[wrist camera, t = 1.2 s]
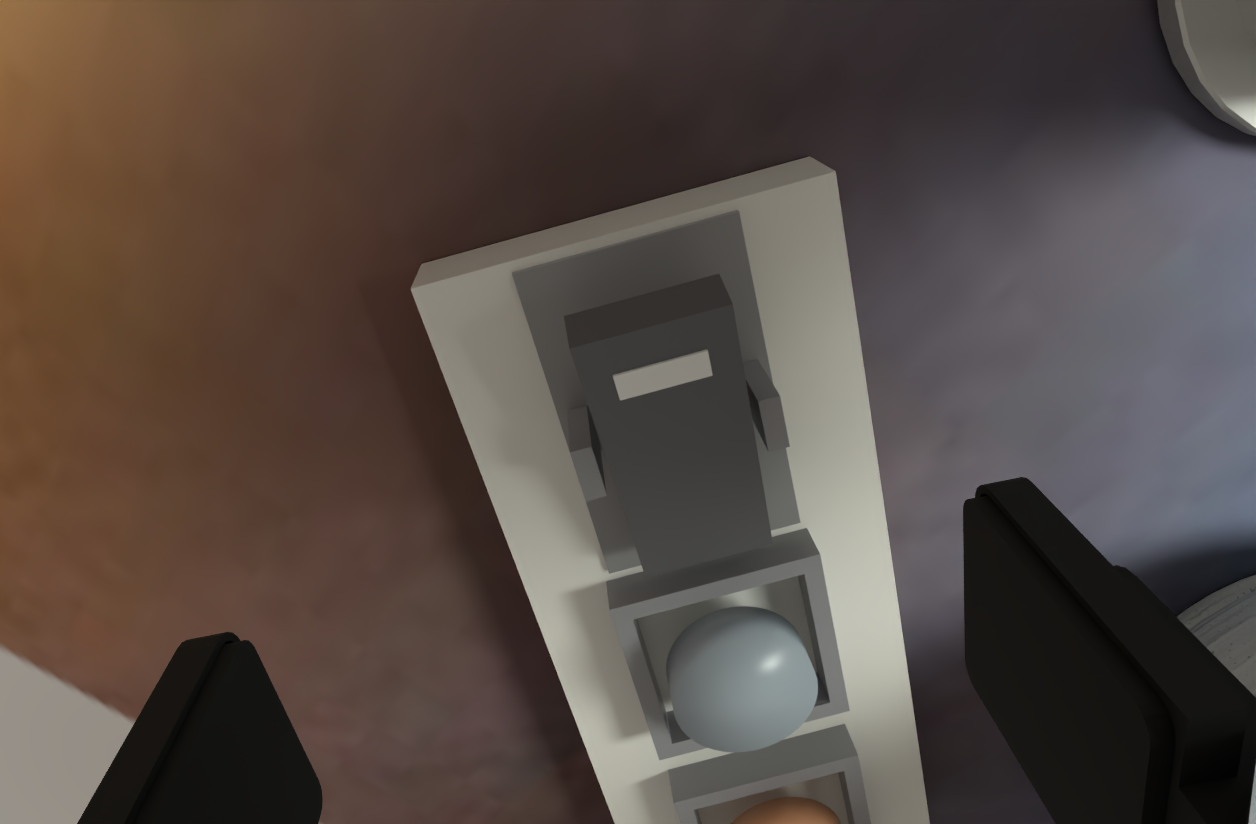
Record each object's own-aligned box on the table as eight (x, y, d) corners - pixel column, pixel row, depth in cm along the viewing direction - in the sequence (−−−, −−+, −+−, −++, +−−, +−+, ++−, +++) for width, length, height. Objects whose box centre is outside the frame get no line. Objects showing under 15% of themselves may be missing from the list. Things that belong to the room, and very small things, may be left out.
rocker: (719, 273, 22) (733, 305, 21) (760, 510, 28) (773, 545, 26) (563, 316, 22) (569, 350, 21) (638, 543, 28) (645, 579, 27)
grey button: (791, 590, 28) (805, 622, 26) (813, 695, 30) (828, 731, 28) (651, 627, 28) (657, 661, 26) (683, 730, 30) (690, 767, 28)
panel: (809, 156, 26) (871, 191, 21) (912, 809, 39) (964, 924, 34) (421, 264, 26) (395, 323, 21) (649, 877, 39) (664, 1000, 34)
